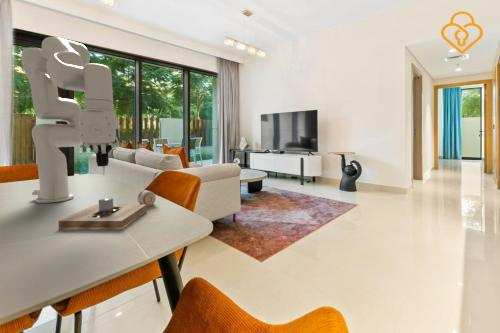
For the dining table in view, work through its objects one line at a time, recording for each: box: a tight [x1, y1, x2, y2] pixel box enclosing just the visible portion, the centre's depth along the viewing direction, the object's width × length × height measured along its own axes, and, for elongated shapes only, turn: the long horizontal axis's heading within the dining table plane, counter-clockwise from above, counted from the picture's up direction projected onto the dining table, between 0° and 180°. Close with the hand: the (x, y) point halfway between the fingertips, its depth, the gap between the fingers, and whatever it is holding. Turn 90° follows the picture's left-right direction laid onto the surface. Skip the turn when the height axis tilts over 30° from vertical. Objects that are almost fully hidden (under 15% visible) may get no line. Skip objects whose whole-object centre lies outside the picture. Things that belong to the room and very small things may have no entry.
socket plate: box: [57, 204, 148, 230], centre depth 82 cm, size 18×18×2 cm
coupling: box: [98, 197, 117, 217], centre depth 82 cm, size 9×4×6 cm, turn 0°
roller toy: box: [137, 189, 156, 207], centre depth 99 cm, size 4×6×6 cm
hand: (102, 165), depth 81 cm, fingers closed
